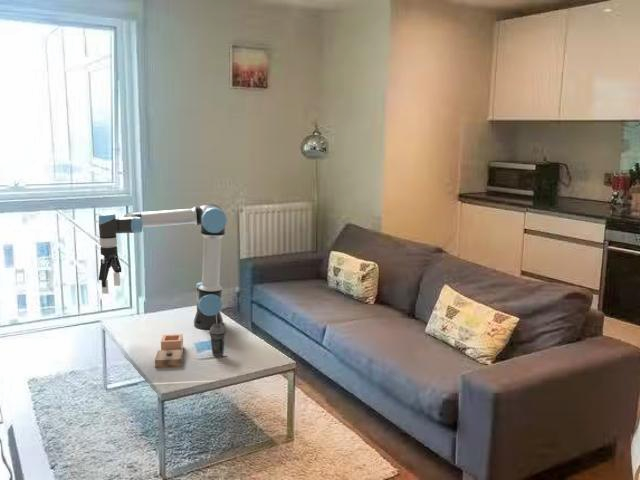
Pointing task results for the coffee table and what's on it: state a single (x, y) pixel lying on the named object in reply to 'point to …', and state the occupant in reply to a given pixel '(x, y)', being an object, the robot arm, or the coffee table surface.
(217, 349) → the beverage cup
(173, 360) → the lid
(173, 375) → the coffee table surface
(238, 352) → the coffee table surface
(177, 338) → the peach open box
